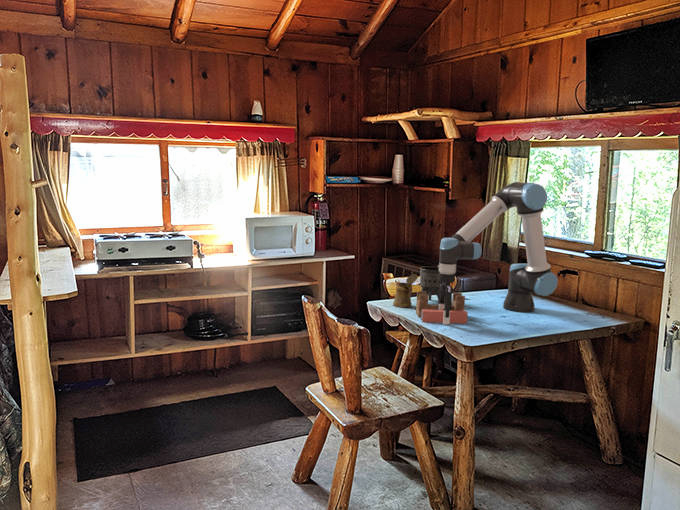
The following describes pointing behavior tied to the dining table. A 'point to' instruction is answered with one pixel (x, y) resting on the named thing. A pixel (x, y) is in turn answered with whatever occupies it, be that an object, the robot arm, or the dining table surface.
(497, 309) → the dining table surface
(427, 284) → the planter
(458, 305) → the wooden cradle
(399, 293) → the brown jug
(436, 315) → the rail
